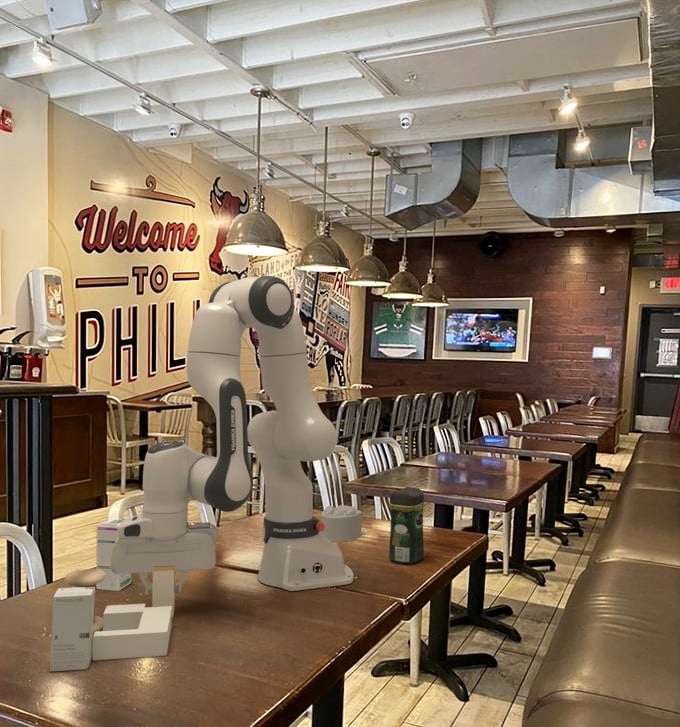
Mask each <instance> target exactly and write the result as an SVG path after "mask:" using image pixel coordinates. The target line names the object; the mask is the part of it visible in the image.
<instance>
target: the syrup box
mask: <svg viewBox="0 0 680 727" xmlns="http://www.w3.org/2000/svg"><path fill="white" fill-rule="evenodd" d="M125 519H126V518H110V519H109V520H106V521H103V522H101V523H98V524H96V544H95V545H96V552H95V553H96V554H95V555H96V559H95V560H96V561H95V562H96V563H95V564H96V568H95V569H99V570H102V571H104V572H105V579H104V581H102V582H100V583H98V584H95V589H97V590H101V591H111V592H112V591H113V592H120V591H121V590H122V589H124V588H126V587H127V586H129V585H131V584H132V583H133V580H134V578H133V574H134V573H126V574H114V573H113V572H112V571H111V569H110V564H111V555H112V550H113V546H114V543H115V541H116V539H117V538H118V527H119V525H120V524H121V522H123V521H124V520H125Z"/></svg>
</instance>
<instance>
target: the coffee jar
mask: <svg viewBox="0 0 680 727" xmlns="http://www.w3.org/2000/svg"><path fill="white" fill-rule="evenodd" d="M424 496H425V495H424V492H423V491H422V490H421V488H419V487H413V486H412V487H411V486H405V487H404V488H401V489H399V490H395V491H393V492H391V493H390V494H389V510H390V534H389V536H390V537H389V547H388V548H389V549H388V550H389V551H388V552H389V553H388V556H389V557H388V559H389V560H390V561H392V562H395V563H396V564H401V565H404V564H409V565H412V564H415V563H418V562H419V561H420V560H422V559H423V558H424V555H425V552H424V551H425V550H424V549H425V548H424V547H425V546H424V545H425V544H424V506H425V500H424V498H425V497H424Z"/></svg>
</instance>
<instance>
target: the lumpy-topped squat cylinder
mask: <svg viewBox="0 0 680 727" xmlns="http://www.w3.org/2000/svg"><path fill="white" fill-rule="evenodd" d="M362 514H363V513H362V511H361V510H360V509H357V508H356V507H355V506H350V505H345V504H344V505H343V504H340V505H338V506H337V507H334V506H333V505H327V506H326V507H325V509H324V510H323V511H322V512H321V514H320V521H321V522H323V523H324V525H325V529H323V530H324V531H322V532H320V533H321V534H323V535H324V536H325V537H326V538H328V539H329V540H330V541H331V542H333V543H343V542H342V541H347V542H349V541H348V540H352V541H354V540H353V539H355V540H357V539H359V538H361V537H362V518H363V517H362ZM360 536H361V537H360ZM358 537H359V538H358ZM356 538H357V539H356Z"/></svg>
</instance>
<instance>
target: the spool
mask: <svg viewBox="0 0 680 727" xmlns="http://www.w3.org/2000/svg"><path fill="white" fill-rule="evenodd" d="M104 579H105V572H104V571H102V570H99V569H96V568H84V569H77V570H73V571H71V572H69V573H67V574H66V575H64V584H65V585H66V586H69V587H95V588H96V584H98V583H100V582H102V581H104ZM95 607H96V599H95V600H94V622H93V635H94V633H95V632H98V631H103V616H102V617H101V616H99V615H95V611H96V610H95V609H96V608H95Z"/></svg>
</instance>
